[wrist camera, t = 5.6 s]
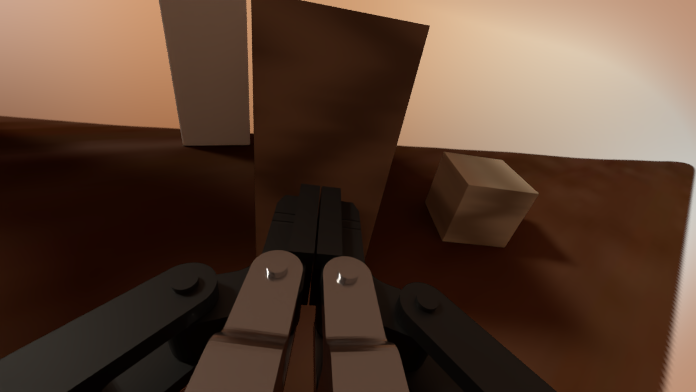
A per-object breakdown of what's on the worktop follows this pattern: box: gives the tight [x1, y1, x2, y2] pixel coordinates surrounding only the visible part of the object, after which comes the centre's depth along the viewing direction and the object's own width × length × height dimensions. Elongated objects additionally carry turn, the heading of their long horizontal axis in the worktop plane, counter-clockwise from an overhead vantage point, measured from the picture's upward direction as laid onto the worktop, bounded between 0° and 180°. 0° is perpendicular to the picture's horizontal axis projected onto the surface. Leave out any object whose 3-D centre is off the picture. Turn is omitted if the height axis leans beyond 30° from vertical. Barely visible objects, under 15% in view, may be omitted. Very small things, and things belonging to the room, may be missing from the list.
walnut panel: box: [251, 0, 429, 269], centre depth 19 cm, size 6×15×13 cm, turn 2°
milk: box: [159, 0, 250, 146], centre depth 24 cm, size 6×6×22 cm
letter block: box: [425, 152, 539, 248], centre depth 22 cm, size 5×5×5 cm
